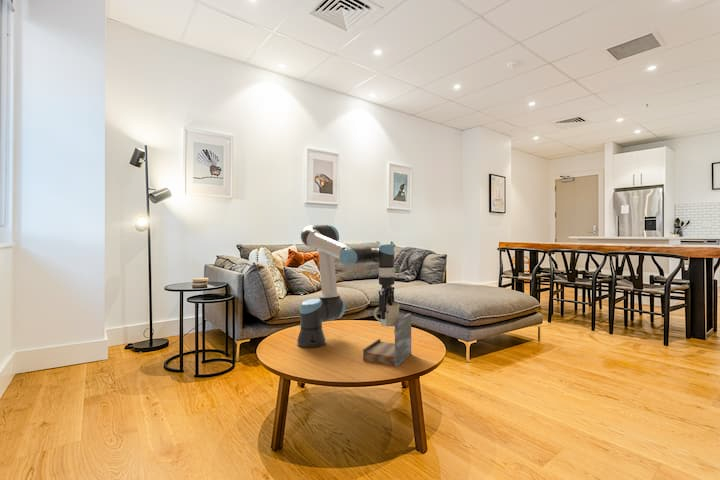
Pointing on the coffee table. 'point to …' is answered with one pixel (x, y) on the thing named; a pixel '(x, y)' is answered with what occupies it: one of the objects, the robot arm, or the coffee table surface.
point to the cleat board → (392, 345)
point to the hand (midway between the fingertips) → (386, 324)
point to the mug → (390, 313)
